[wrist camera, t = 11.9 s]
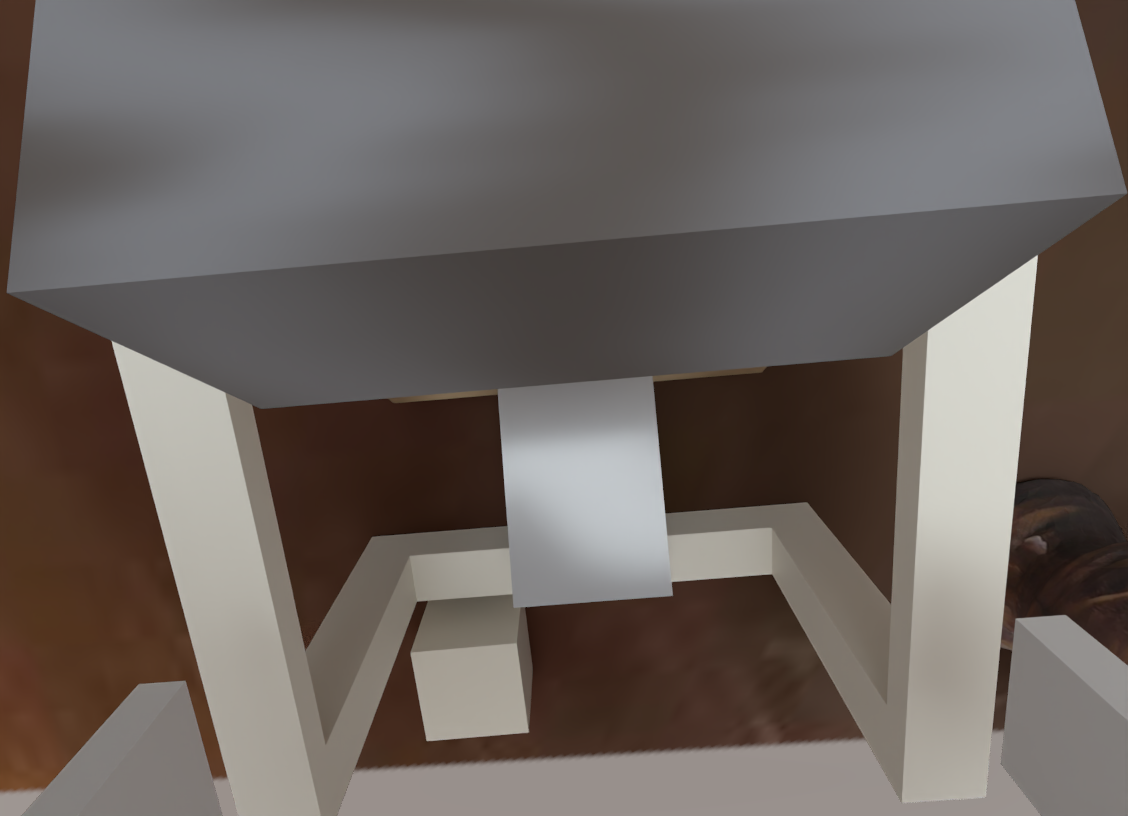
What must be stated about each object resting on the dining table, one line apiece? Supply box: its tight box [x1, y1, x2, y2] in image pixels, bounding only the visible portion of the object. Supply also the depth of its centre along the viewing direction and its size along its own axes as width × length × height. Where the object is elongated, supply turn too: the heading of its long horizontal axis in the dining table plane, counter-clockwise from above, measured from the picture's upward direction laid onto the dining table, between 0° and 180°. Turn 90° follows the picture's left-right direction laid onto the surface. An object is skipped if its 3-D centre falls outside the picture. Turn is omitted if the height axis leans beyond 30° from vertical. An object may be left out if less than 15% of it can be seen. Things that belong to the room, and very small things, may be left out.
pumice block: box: [410, 594, 533, 741], centre depth 29 cm, size 4×4×4 cm
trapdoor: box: [7, 0, 1127, 409], centre depth 16 cm, size 13×18×4 cm
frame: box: [112, 255, 1038, 816], centre depth 21 cm, size 18×16×13 cm
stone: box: [498, 376, 673, 608], centre depth 25 cm, size 5×5×7 cm
